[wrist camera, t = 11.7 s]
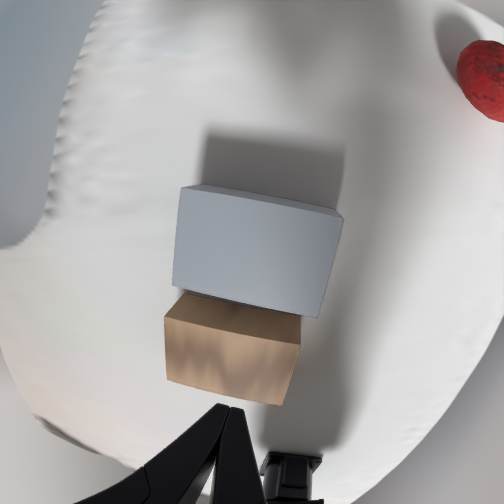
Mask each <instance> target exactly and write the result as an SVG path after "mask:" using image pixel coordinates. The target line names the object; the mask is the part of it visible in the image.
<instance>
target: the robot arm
mask: <svg viewBox="0 0 504 504" xmlns="http://www.w3.org/2000/svg"><path fill="white" fill-rule="evenodd" d="M215 461H216V462H215ZM321 463H322V458H320V457H309V456H299V455H290V454H283V453H276V452H269V453H268V455H267V457H266V459H265V461H264V463H263V465H262V467H261V469H260V471H258V467H257V463H256V459H255V455H254V451H253V447H252V443H251V438H250V434H249V430H248V426H247V421H246V417H245V412H244V410H243V409H240V408H236V407H231V408H230V407H229V406H228V405H224V404H220V403H217V404H215V405H214V406H213V407H212V408H211V409H210V410H209V411H208V412H207V413H205V414H204V415H203V416H202V417H201V418H200V419H199V420H198V421H196V422H195V423H194V424H193V425H192V426H191V427H190V428H188V429H187V430H186V431H185V432H184V433H183V434H181V435H180V436H179V437H178V438H177V439H176V440H174V441H173V442H172V443H171V444H170V445H168V446H167V447H166V448H165V449H163V450H162V451H161V452H160V453H158V454H157V455H156V456H155V457H153V458H152V459H151V460H150V461H148V462H147V463H146V464H144V467H143V466H142V467H140V468H139V469H138V470H136V471H135V472H134V473H132V474H131V475H129V476H128V477H126V478H125V479H123V480H122V481H120V482H119V483H117V484H115V485H113V486H111V487H109V488H107V489H105V490H103V491H101V492H99V493H97V494H95V495H93V496H90V497H88V498H86V499H84V500H81V501H79V502H76V503H74V504H195V503H196V501H197V499H198V497H199V495H200V493H201V491H202V489H203V487H204V485H205V483H206V481H207V479H208V477H209V475H210V473H211V471H212V469H213V466H214V464H215V467H214V473H213V480H212V487H211V494H210V501H209V504H324V499H319V500H311V494H312V474H313V473H314V471H315V470H316V469H317V468H318V466H319V465H320V464H321ZM260 476H264V482H263V486H262V482H261V479H260Z"/></svg>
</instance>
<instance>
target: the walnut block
mask: <svg viewBox="0 0 504 504" xmlns="http://www.w3.org/2000/svg"><path fill="white" fill-rule="evenodd" d="M164 330H165V355H166V373H167V380H169V381H173V382H176V383H179V384H183V385H186V386H190V387H193V388H197V389H201V390H205V391H209V392H213V393H217V394H221V395H225V396H230V397H235V398H239V399H244V400H249V401H255V402H260V403H266V404H272V405H278V406H282V404H283V401H284V398H285V396H286V393H287V390H288V386H289V383H290V380H291V377H292V374H293V370H294V367H295V364H296V360H297V357H298V353H299V350H300V316H296V315H290V314H285V313H279V312H273V311H268V310H262V309H257V308H252V307H246V306H241V305H236V304H231V303H226V302H221V301H217V300H212V299H207V298H203V297H198V296H194V295H189V294H185V293H184V294H183V295H182V296H181V298H180V299H179V300H178V301H177V302H176V303H175V304H174V306H173V307H172V308H171V309H170V310H169V311H168V312H167V314H166V315H165V316H164Z"/></svg>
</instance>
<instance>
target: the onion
mask: <svg viewBox="0 0 504 504" xmlns="http://www.w3.org/2000/svg"><path fill="white" fill-rule="evenodd" d="M457 76H458V82H459V85H460V87H461V89H462V91H463V93H464V95H465V97H466V98H467V99H468V100H469V101H470V103H471V104H472V105H473V106H474V107H475V108H476V109H477V110H479V111H480V112H481V113H483V114H484V115H485V116H487V117H488V118H489V119H492V120H496V121H499V122H504V45H503V44H501V43H499V42H496V41H486V40H478V41H475V42H472V43H471V44H470V45H468V46H467V47H466V48H465V49H464V50H463V51H462V52H461V53H460V57H459V60H458V64H457Z"/></svg>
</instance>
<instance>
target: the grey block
mask: <svg viewBox="0 0 504 504" xmlns="http://www.w3.org/2000/svg"><path fill="white" fill-rule="evenodd" d="M343 222H344V218H343V217H342V216H341V215H340V214H339V213H338V212H337V211H336V210H335V209H331V208H327V207H323V206H318V205H313V204H309V203H304V202H299V201H295V200H290V199H285V198H280V197H274V196H269V195H264V194H259V193H253V192H248V191H242V190H236V189H230V188H224V187H218V186H212V185H205V184H199V185H194V186H188V187H182V188H181V191H180V199H179V207H178V217H177V227H176V237H175V249H174V262H173V277H172V286H176V287H180V288H184V289H188V290H191V291H195V292H199V293H204V294H208V295H212V296H216V297H220V298H224V299H229V300H233V301H237V302H242V303H246V304H251V305H255V306H260V307H264V308H269V309H274V310H279V311H284V312H289V313H294V314H299V315H304V316H309V317H314V318H317V317H318V314H319V311H320V307H321V304H322V301H323V297H324V294H325V291H326V287H327V284H328V280H329V276H330V273H331V269H332V266H333V262H334V258H335V254H336V250H337V246H338V242H339V238H340V234H341V230H342V226H343Z"/></svg>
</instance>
